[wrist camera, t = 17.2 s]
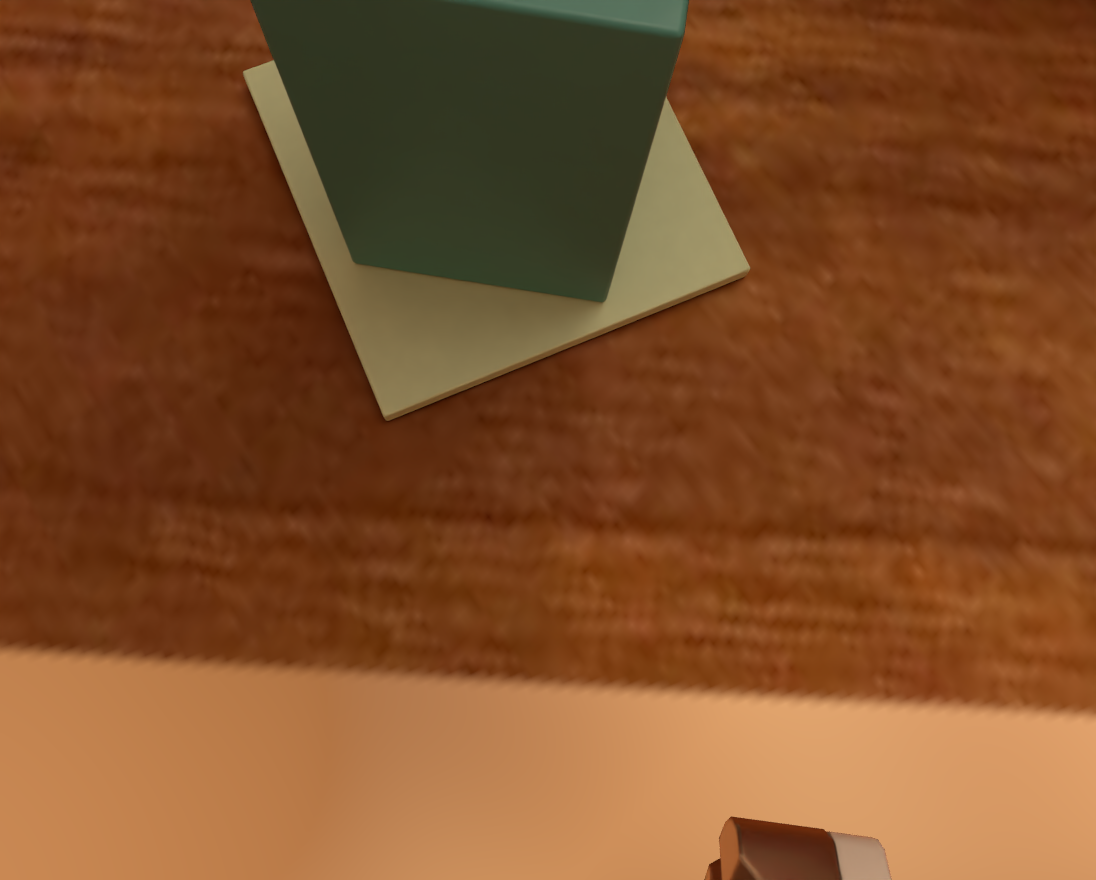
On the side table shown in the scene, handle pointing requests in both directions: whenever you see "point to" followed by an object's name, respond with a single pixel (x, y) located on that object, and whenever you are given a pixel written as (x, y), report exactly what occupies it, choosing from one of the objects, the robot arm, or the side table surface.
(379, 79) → the teal block
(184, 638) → the side table surface
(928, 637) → the side table surface
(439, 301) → the sage mat
